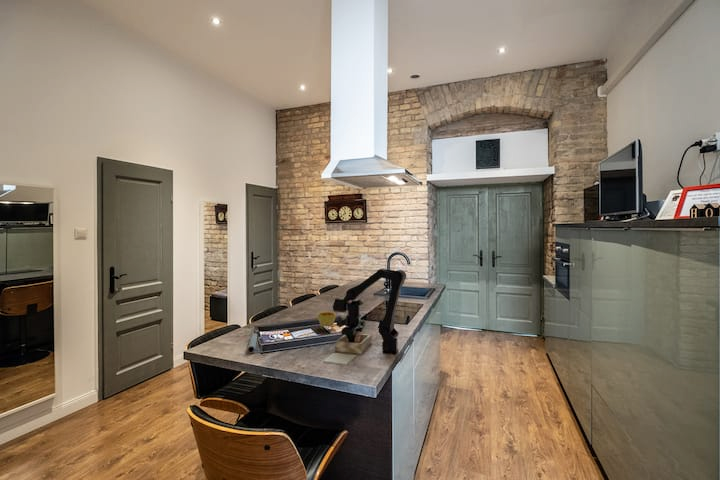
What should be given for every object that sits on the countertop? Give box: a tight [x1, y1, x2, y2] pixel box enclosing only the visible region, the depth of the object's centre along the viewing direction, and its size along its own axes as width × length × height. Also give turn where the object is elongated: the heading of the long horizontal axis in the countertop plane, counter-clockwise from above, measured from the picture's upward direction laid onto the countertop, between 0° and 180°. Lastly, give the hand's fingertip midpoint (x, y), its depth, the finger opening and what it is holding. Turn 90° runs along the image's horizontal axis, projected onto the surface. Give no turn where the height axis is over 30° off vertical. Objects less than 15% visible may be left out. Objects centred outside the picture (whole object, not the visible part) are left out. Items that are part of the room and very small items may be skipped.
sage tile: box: [323, 352, 356, 366], centre depth 152 cm, size 11×11×1 cm
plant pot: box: [317, 311, 337, 327], centre depth 200 cm, size 10×10×10 cm
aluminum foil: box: [246, 332, 261, 354], centre depth 174 cm, size 23×7×3 cm, turn 13°
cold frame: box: [334, 333, 373, 355], centre depth 169 cm, size 13×16×4 cm
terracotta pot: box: [347, 331, 362, 343], centre depth 169 cm, size 7×7×7 cm
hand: (353, 344), depth 169 cm, fingers closed on terracotta pot, 6 cm apart
